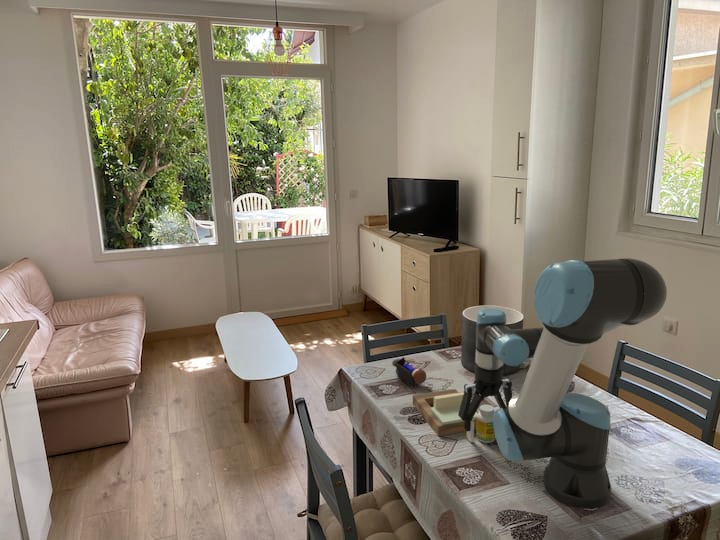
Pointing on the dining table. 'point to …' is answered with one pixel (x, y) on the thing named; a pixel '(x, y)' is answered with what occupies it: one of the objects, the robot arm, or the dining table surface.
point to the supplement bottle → (485, 424)
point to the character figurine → (409, 372)
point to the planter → (469, 334)
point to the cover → (448, 408)
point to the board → (423, 406)
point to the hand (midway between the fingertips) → (485, 437)
